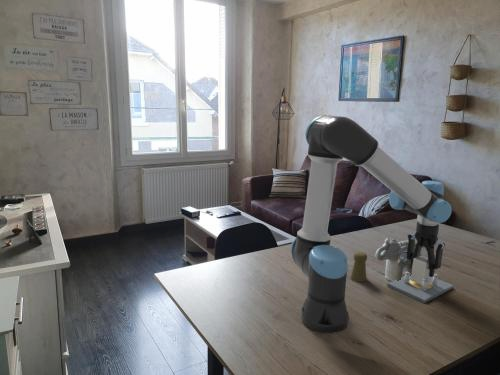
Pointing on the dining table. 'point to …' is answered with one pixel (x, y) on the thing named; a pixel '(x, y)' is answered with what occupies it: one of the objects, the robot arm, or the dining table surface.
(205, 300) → the dining table surface
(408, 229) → the dining table surface
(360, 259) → the cork
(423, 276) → the cream plug
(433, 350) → the dining table surface
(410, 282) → the pin board
